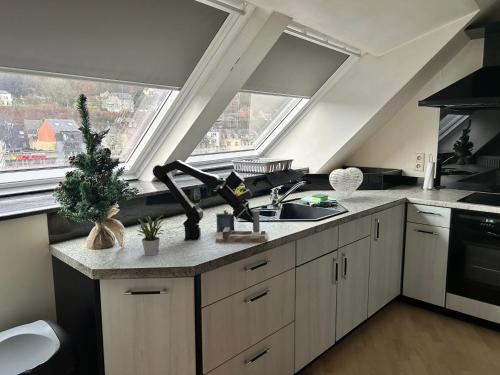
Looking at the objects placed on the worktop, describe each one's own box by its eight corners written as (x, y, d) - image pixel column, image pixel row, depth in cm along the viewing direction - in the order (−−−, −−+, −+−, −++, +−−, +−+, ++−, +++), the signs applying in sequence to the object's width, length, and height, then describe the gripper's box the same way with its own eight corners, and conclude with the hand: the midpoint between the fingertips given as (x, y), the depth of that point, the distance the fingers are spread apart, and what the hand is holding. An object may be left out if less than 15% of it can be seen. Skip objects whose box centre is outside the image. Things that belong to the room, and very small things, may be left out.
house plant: (175, 247, 166) (173, 210, 164) (169, 257, 152) (167, 217, 150) (141, 248, 166) (139, 211, 163) (132, 258, 152) (130, 218, 150)
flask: (216, 231, 192) (215, 210, 191) (218, 230, 195) (217, 209, 193) (233, 232, 189) (232, 211, 188) (235, 231, 192) (235, 210, 190)
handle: (251, 237, 174) (251, 212, 172) (252, 233, 180) (252, 209, 179) (260, 237, 173) (260, 212, 172) (261, 233, 180) (260, 209, 178)
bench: (215, 242, 173) (215, 232, 172) (219, 235, 184) (219, 226, 183) (267, 242, 171) (267, 232, 171) (267, 235, 182) (267, 226, 182)
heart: (348, 195, 289) (349, 166, 286) (366, 198, 277) (367, 167, 274) (324, 200, 271) (324, 169, 268) (342, 203, 259) (343, 170, 256)
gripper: (239, 186, 165) (265, 211, 166) (243, 181, 183) (266, 203, 184) (221, 205, 166) (248, 229, 167) (227, 197, 185) (250, 220, 186)
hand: (254, 219), depth 176 cm, fingers open, 9 cm apart
